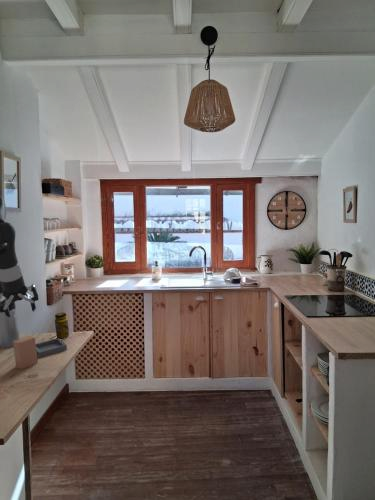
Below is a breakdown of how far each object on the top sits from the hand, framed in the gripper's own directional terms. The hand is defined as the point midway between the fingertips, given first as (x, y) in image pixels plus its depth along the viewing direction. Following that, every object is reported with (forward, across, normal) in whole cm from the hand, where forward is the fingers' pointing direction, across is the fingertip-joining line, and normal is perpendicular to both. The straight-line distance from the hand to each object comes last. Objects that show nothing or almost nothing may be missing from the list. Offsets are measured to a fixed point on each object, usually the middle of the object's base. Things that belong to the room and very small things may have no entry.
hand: (21, 313), depth 141 cm
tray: (+31, -5, -15) cm, 35 cm away
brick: (+26, +4, -3) cm, 27 cm away
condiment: (+36, -10, -28) cm, 47 cm away
